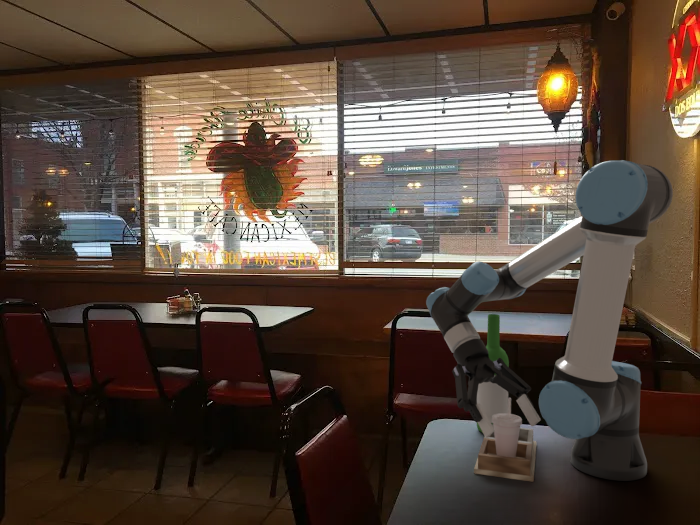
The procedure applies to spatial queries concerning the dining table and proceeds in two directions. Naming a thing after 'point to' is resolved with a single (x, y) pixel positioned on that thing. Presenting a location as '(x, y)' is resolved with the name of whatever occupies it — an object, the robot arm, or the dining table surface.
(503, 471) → the board
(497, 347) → the wine bottle
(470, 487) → the dining table surface
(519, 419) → the smoothie
